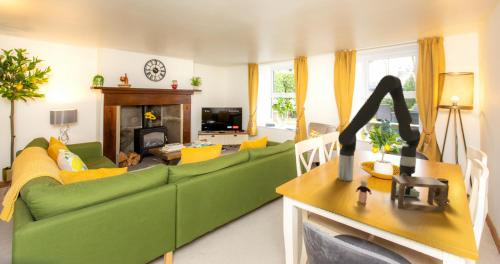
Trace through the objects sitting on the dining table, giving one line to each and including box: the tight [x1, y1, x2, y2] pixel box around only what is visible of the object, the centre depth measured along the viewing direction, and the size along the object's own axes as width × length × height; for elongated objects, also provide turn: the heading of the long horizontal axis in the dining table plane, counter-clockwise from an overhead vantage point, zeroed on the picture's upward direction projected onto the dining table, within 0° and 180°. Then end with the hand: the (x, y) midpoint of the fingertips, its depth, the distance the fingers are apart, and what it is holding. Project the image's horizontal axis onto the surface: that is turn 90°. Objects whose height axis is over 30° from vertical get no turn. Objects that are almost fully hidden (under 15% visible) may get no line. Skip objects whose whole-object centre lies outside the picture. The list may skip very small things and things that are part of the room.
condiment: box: [433, 177, 451, 205], centre depth 132 cm, size 7×8×12 cm
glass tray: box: [396, 183, 420, 198], centre depth 140 cm, size 12×6×5 cm, turn 79°
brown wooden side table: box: [389, 175, 447, 213], centre depth 127 cm, size 20×12×14 cm, turn 79°
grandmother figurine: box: [355, 179, 372, 205], centre depth 130 cm, size 8×4×13 cm, turn 66°
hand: (405, 192), depth 140 cm, fingers closed on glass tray, 6 cm apart
